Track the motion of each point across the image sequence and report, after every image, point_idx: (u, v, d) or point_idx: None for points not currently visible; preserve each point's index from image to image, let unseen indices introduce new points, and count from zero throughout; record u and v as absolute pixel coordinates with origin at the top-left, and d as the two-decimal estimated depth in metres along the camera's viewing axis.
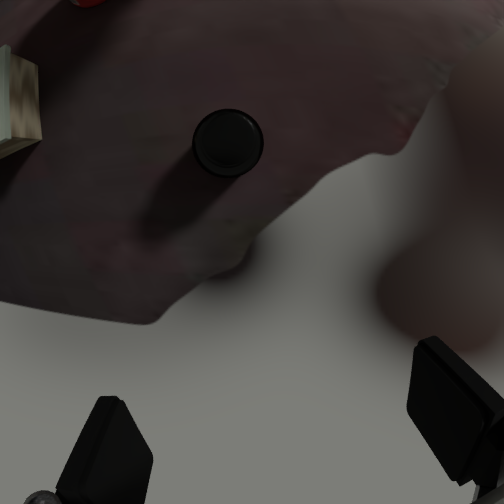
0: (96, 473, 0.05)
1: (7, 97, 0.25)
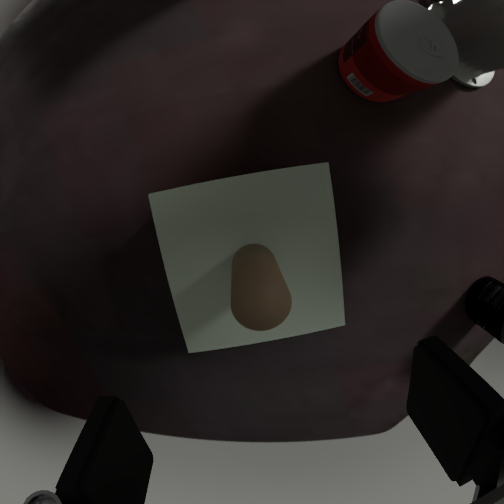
0: (96, 473, 0.05)
1: None
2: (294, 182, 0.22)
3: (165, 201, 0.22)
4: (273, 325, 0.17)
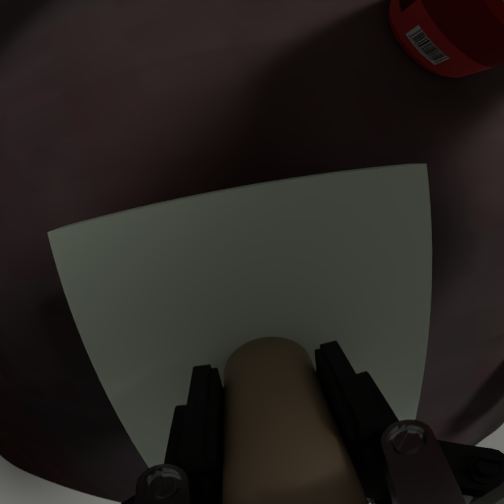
0: (214, 436, 0.07)
1: None
2: (361, 206, 0.09)
3: (78, 247, 0.09)
4: None
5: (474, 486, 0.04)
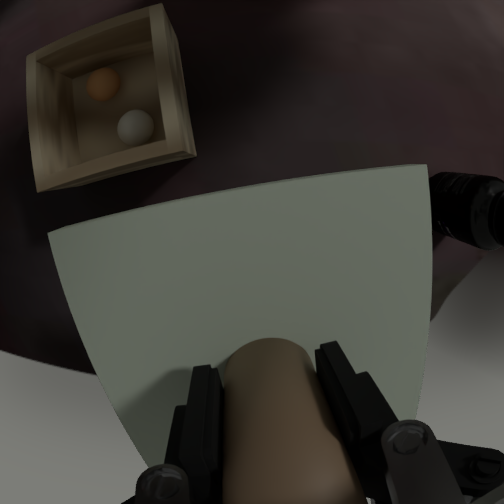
0: (214, 436, 0.07)
1: None
2: (361, 207, 0.09)
3: (78, 248, 0.09)
4: None
5: (474, 486, 0.04)
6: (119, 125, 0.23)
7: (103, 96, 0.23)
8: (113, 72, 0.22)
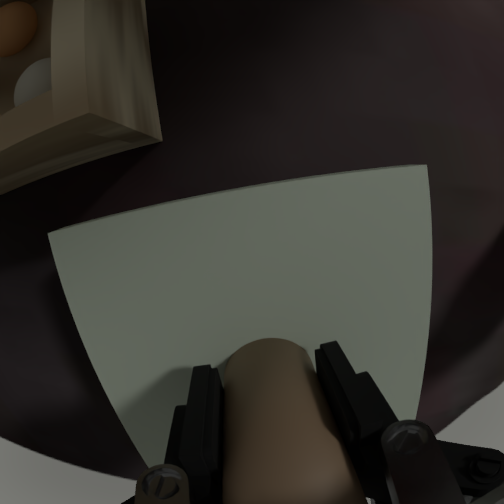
0: (214, 436, 0.07)
1: None
2: (361, 207, 0.09)
3: (78, 248, 0.09)
4: None
5: (474, 486, 0.04)
6: (15, 89, 0.09)
7: (3, 46, 0.09)
8: (23, 5, 0.08)
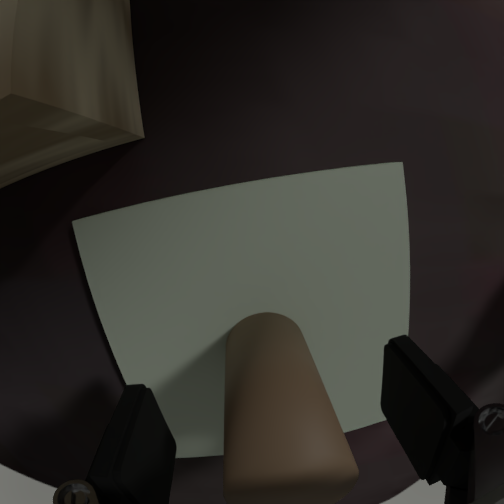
0: (129, 459, 0.06)
1: None
2: (343, 198, 0.11)
3: (100, 233, 0.11)
4: None
5: None
6: None
7: None
8: None
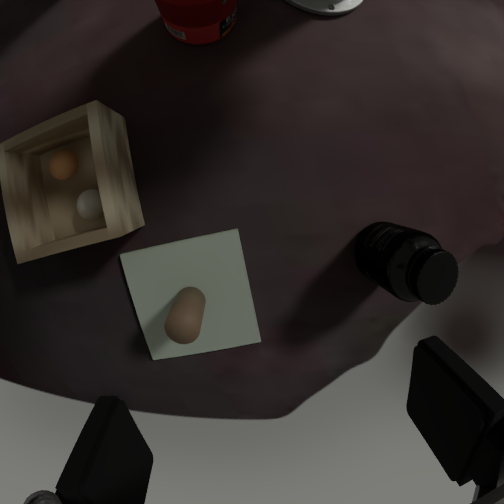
0: (96, 473, 0.05)
1: None
2: (213, 245, 0.33)
3: (130, 259, 0.32)
4: (190, 341, 0.27)
5: None
6: (77, 204, 0.28)
7: (63, 177, 0.27)
8: (69, 155, 0.27)
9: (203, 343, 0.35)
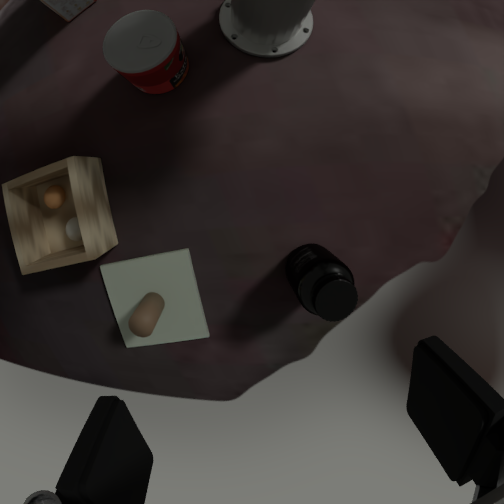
0: (96, 473, 0.05)
1: None
2: (169, 261, 0.41)
3: (108, 270, 0.41)
4: (147, 335, 0.36)
5: None
6: (66, 229, 0.36)
7: (55, 207, 0.35)
8: (58, 190, 0.35)
9: (164, 336, 0.43)
